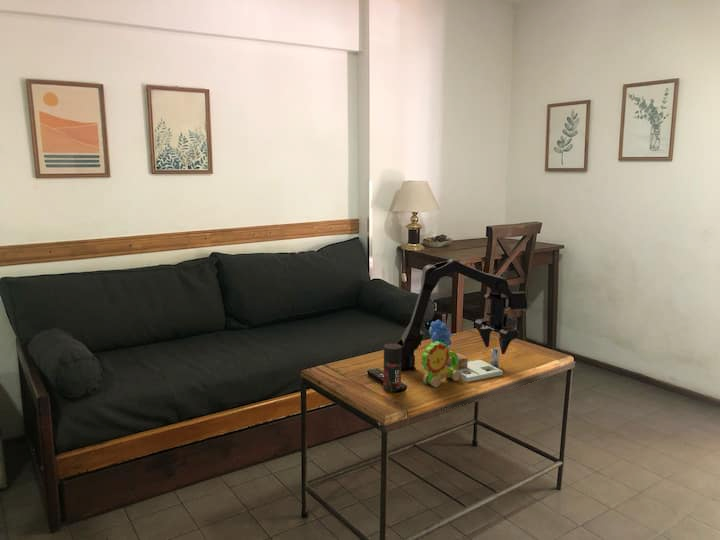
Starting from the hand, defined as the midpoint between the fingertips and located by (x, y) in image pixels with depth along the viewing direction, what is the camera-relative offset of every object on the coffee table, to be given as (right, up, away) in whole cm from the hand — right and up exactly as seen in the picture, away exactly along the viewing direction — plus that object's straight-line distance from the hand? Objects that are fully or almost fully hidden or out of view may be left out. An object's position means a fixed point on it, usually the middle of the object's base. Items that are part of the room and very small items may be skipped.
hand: (495, 350), depth 218 cm
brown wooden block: (-15, -5, -3) cm, 16 cm away
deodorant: (-40, -10, -20) cm, 45 cm away
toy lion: (-23, -10, -14) cm, 28 cm away
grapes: (-18, -3, +22) cm, 29 cm away
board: (-9, -7, -4) cm, 12 cm away
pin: (0, -6, +1) cm, 7 cm away
